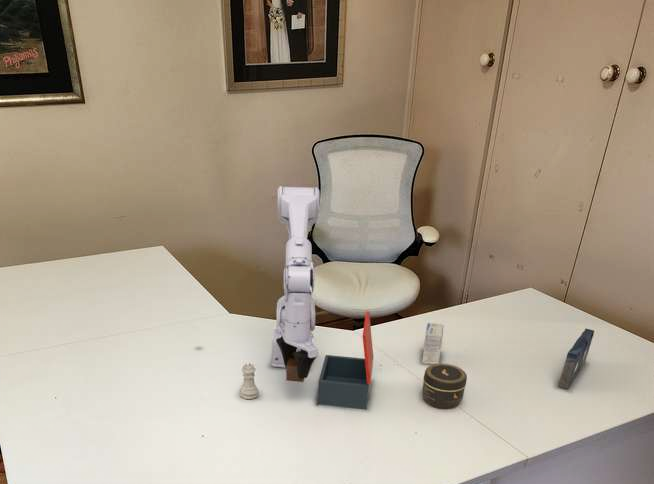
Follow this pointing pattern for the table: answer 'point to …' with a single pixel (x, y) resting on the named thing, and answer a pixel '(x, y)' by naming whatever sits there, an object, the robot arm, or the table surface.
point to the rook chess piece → (248, 383)
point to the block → (292, 371)
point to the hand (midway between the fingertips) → (296, 372)
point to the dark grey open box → (343, 382)
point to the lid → (368, 347)
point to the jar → (443, 386)
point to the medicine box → (432, 343)
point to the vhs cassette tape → (576, 359)
